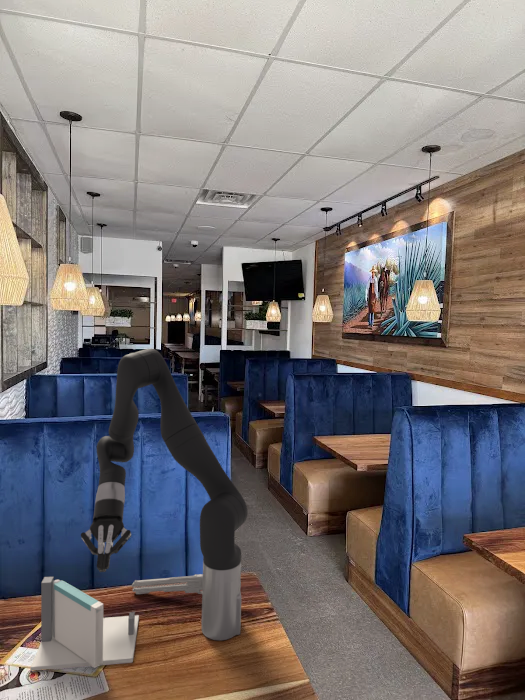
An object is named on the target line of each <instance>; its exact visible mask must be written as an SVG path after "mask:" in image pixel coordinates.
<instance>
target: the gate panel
mask: <svg viewBox="0 0 525 700" xmlns="http://www.w3.org/2000/svg"><path fill="white" fill-rule="evenodd" d="M103 618H104V602H101V601H100V600H98V599H96V598H94V597H92V596H90V595H88V594H87V593H85V592H84V591H82V590H80V589H79V588H76V587H75V586H73V585H71V583H70V584H69V583H67V582H66V581H64V580H60V579H55V580H54V582H53V637H54V638H55V639H56V640H57V641H58V642H60V643H61V644H63V645H64V646H65V647H67V648H68V649H70V650H71V651H73V652H74V653H75V654H77V655H78V656H80V657H81V658H82V659H84V660H85V661H87V662H88V663H90V665H91V666H90V667H92V668H94V669H96V668H97V667H99V666H101V665H100V664H102V663H103Z"/></svg>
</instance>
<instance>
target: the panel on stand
mask: <svg viewBox="0 0 525 700" xmlns="http://www.w3.org/2000/svg"><path fill="white" fill-rule="evenodd" d="M54 581H55V580H54V576H44V577H43V579H42V581H41V583H40V584H41V585H40V586H41V590H40V591H41V593H40V595H41V596H40V597H41V600H40V601H41V603H40V604H41V612H40V613H41V617H40V618H41V621H40V623H41V624H40V625H41V627H40V628H41V629H40V631H41V633H40V635H41V637H40V639H41V640H40V641H41V642H40V644H39V647H38V649H37V651H36V653H35V656H34V658H33V659H32V663H31V665H30V668H29V669H30V670H31V671H32V670H41V669H54V670H63V669H64V668H65V669H74V668H86V666H87V667H88V668H89V667H92V666H91V665H90V663H88V662H87V661H85V660H84V659H82V658H81V657H80V656H78V655H77V654H75V653H74V652H73V651H71V650H70V649H68V648H67V647H65V646H64V645H63V644H61V643H60V642H58V641H57V640H56V639H55V638H54V637H53V582H54ZM135 613H136V612H135V611H132V612H129V613H128V614H129V615H124V616H123V615H122V616H112V617H111V616H110V617H103V663H102V664H100V665H99V666H108V665H116V664H117V665H118V664H119V665H120V664H132V663H133V661H134V656H135V649H136V641H137V634H138V628H139V627H138V625H139V620H140V615H139V614H135ZM61 668H62V669H61ZM30 670H29V671H30ZM31 671H30V672H31ZM32 672H33V671H32Z"/></svg>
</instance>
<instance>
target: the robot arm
mask: <svg viewBox="0 0 525 700" xmlns="http://www.w3.org/2000/svg"><path fill="white" fill-rule="evenodd" d="M116 371H117V372H116V373H117V374H116V382H115V383H116V385H115V400H114V409H113V413H112V417H111V420H110V422H109V427H108V435H105V436H102V437H101V438H100V439H99V440H98V442H97V444H96V456H97V459H98V460H97V461H98V466H99V479H98V486H97V491H96V493H95V494H96V496H95V502H94V508H93V509H94V510H93V517H92V523H91V524H90V525H89V526H90V527H89V529H88V530H86V531H85V532H81V534H80V538H81V540H82V541H83V542H84V545H85V546H86V547H87V549H88V550H89V551H90V553H91V554H92V555H94V556H95V555H96V556H97V559H96V569H97V570H98V571H99V573H105V572H107V570H109V568H110V563H111V562H110V561H111V557H112V555H114V554H118V553H119V551H120V550H121V549H122V548H123V547H124V546H125V544H126V543H127V542H128V540H130V539H131V537H132V531H131V530H130V529H126V528H125V524H124V522H123V520H124V510H125V502H126V498H125V497H126V490H125V486H126V478H127V477H126V475H127V471H126V468H125V467H123V466H121V465H119V464H117V463H127V462H129V461H131V459H132V458H133V457H134V454H135V445H134V444H135V443H134V434H135V432H136V428H137V425H138V422H139V416H140V415H139V409H138V406H137V405H136V404H135V401H134V398H135V397H134V396H135V395H136V392H138V391H137V390H138V389H140V388H144V387H148V386H150V385H152V386H153V388H154V389H155V391H156V393H157V396H158V398H159V400H160V401H159V402H160V408H161V409H160V410H161V411H160V433H161V438H162V440H163V442H164V444H165V445H166V447H167V448H166V449H168V451H169V453H170V455H171V456H172V458H173V460H175V462H177V463H178V464H179V465H180V466H181V467H182V468H183V469H184V470H186V471H187V472H189V474H191V475H192V476H193V477H195V478H196V479H197V480H198V481H199V482H200V483H201V485H202V487H203V488H204V489H205V491H206V493H207V495H208V497H209V499H210V500H209V501H207V502H206V503H205V504H204V505H203V507H202V508H201V512H200V516H199V545H200V552H201V554H202V556H203V557H202V574H203V588H202V590H201V591H202V594H201V595H202V596H201V597H202V598H201V620H200V621H201V632H202V634H203V635H204V636H205V637H206V638H207V639H210V640H212V641H213V640H214V641H227V640H229V639H231V638H233V637H235V636H237V635H241V628H242V627H241V626H242V625H241V622H242V619H241V618H242V594H241V587H240V581H241V579H242V578H241V577H242V575H241V574H242V571H241V570H242V549H241V548H240V546H239V545H238V544H236V542H235V541H236V540H235V538H236V537H235V532H236V531H237V530H238V529H239V528H241V526H242V525H243V524H244V523H245V522H246V520H247V517H248V507H247V503H246V501H245V499H244V497H243V495H242V494H241V492H240V491H239V490H238V488H237V487H236V486H235V484H234V483H233V482H232V480H231V479H230V477H229V476H228V474H227V473H226V471H225V470H224V468H223V467H222V465H221V464H220V462H219V460H218V458H217V456H216V454H215V453H214V452H213V450H212V448H211V447H210V445H209V443H208V441H207V439H206V438H205V435H204V434H203V432H202V430H201V428H200V426H199V425H198V423H197V421H196V419H195V418H194V416H193V415H192V413H191V411H190V409H189V407H188V406H187V404H186V403H185V400H184V398H183V397H182V394H181V393H180V391H179V388H178V386H177V383H176V382H175V379H174V377H173V375H172V373H171V371H170V368H169V366H168V364H167V362H166V360H165V359H164V356H162V354H161V352H159V351H158V350H156V349H154V348H145V349H142V350H139V351H135V352H130V353H129V354H125V355H124V356H122V357H121V358H120V360H119V362H118V367H117V370H116ZM114 462H116V463H114ZM92 536H93V537H94V539H95V540H96V542H97V547H96V546H95V545H94V544H93V542H92ZM119 536H121V537H120V538H119V539H118V540H117V541H116V539H117V538H118V537H119ZM114 541H116V542H115V543H114Z"/></svg>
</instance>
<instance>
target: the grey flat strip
mask: <svg viewBox="0 0 525 700" xmlns="http://www.w3.org/2000/svg"><path fill="white" fill-rule="evenodd" d="M241 586H242V583H241V580H240V588H241ZM131 588H132V592H133V593H135V594H136V595H143V594H144V595H146V594H150V593H152V592H164V593H168V592H170V593H172V592H184V593H185V594H193V593H197V595H202V588H203V573H202V574H201V573H200V574H196V573H195V574H194V575H188V576H175V577H172V576H171V577H166V578H165V577H164V578H153V579H142V580H139V579H138V580H137V579H135V580H134V581H133V583H132V584H131Z"/></svg>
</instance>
